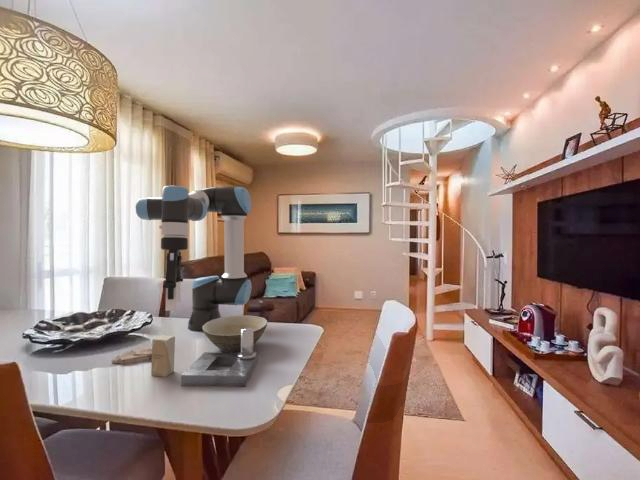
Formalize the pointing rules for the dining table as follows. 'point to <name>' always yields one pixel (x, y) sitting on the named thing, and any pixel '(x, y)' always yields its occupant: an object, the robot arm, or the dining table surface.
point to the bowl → (233, 331)
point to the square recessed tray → (207, 376)
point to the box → (163, 355)
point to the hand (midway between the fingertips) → (173, 306)
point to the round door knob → (246, 344)
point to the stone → (134, 356)
